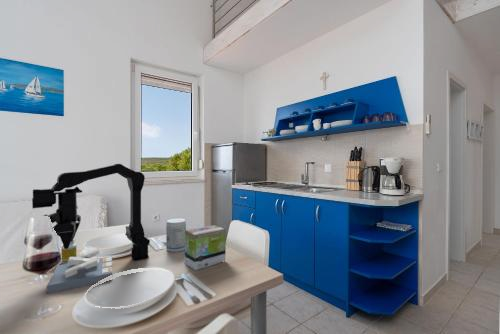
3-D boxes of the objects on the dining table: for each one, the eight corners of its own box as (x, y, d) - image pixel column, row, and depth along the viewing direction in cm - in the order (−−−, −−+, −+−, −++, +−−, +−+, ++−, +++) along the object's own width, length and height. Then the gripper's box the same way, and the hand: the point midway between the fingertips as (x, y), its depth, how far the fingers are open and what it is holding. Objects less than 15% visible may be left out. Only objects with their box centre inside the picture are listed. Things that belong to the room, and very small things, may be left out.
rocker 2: (97, 263, 99) (99, 258, 99) (97, 266, 96) (99, 261, 96) (68, 261, 94) (69, 256, 94) (66, 264, 91) (68, 259, 91)
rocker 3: (98, 261, 94) (97, 256, 93) (98, 264, 91) (96, 260, 90) (67, 273, 89) (65, 269, 89) (66, 277, 86) (64, 273, 86)
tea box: (195, 271, 98) (195, 234, 98) (184, 264, 106) (184, 229, 105) (226, 261, 108) (226, 228, 108) (213, 255, 116) (213, 224, 115)
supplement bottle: (68, 264, 106) (68, 242, 105) (58, 263, 107) (57, 241, 107) (79, 259, 111) (79, 238, 111) (69, 259, 112) (69, 237, 112)
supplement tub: (163, 248, 125) (163, 219, 125) (181, 244, 131) (181, 217, 131) (170, 254, 117) (170, 223, 117) (189, 249, 123) (188, 220, 123)
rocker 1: (99, 251, 104) (98, 247, 104) (99, 254, 101) (97, 250, 101) (72, 262, 99) (70, 258, 99) (70, 265, 96) (69, 261, 96)
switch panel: (111, 262, 108) (111, 249, 108) (112, 279, 91) (112, 264, 91) (57, 271, 98) (57, 257, 98) (47, 293, 82) (46, 276, 82)
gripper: (47, 203, 99) (48, 241, 99) (33, 211, 83) (34, 257, 83) (80, 201, 104) (81, 237, 105) (73, 208, 88) (74, 251, 88)
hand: (68, 245), depth 95 cm, fingers open, 9 cm apart
